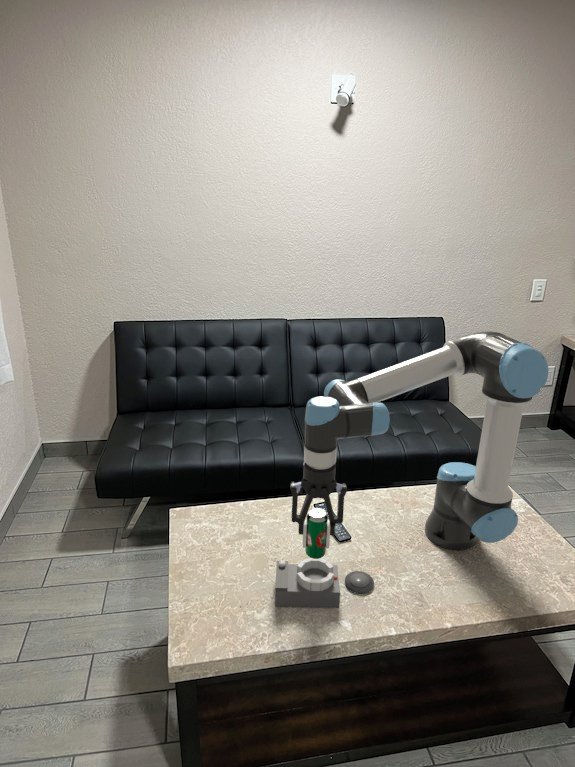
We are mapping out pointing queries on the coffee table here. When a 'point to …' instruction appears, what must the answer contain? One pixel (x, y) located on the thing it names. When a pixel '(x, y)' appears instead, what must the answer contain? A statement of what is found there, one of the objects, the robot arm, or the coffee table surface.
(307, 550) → the soda can
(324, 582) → the camera body
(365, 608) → the coffee table surface
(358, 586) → the lens cap
